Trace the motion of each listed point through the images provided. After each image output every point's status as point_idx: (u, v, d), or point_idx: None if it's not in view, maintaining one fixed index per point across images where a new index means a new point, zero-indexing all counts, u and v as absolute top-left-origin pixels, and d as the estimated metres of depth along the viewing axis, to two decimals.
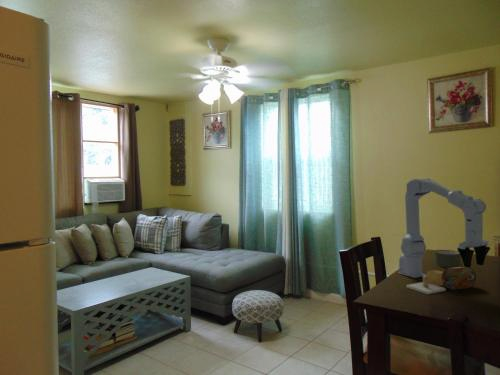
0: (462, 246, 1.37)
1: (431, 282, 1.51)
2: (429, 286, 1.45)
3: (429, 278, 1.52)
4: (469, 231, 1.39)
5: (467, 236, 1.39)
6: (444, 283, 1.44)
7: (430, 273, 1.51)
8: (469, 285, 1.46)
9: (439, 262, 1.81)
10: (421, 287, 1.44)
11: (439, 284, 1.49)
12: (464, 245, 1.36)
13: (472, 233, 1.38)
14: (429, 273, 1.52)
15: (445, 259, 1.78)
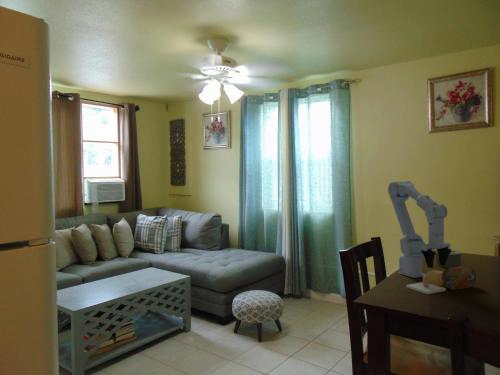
0: (424, 248, 1.48)
1: (431, 282, 1.51)
2: (429, 286, 1.45)
3: (429, 278, 1.52)
4: (431, 234, 1.50)
5: (430, 239, 1.51)
6: (444, 283, 1.44)
7: (430, 273, 1.51)
8: (469, 285, 1.46)
9: None
10: (421, 287, 1.44)
11: (439, 284, 1.49)
12: (426, 247, 1.48)
13: (434, 236, 1.49)
14: (429, 273, 1.52)
15: None
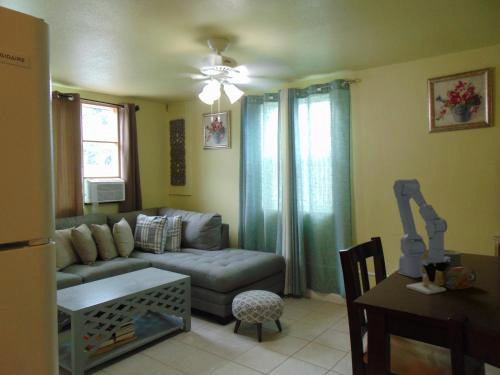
0: (424, 262, 1.48)
1: (431, 282, 1.51)
2: (429, 286, 1.45)
3: None
4: (431, 248, 1.50)
5: (430, 253, 1.51)
6: (444, 283, 1.44)
7: None
8: (469, 285, 1.46)
9: None
10: (421, 287, 1.44)
11: (439, 284, 1.49)
12: (426, 262, 1.48)
13: (434, 250, 1.49)
14: None
15: None
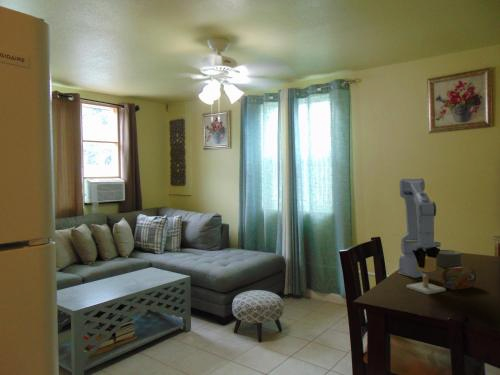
0: (414, 247, 1.41)
1: (421, 268, 1.44)
2: (429, 286, 1.45)
3: None
4: (421, 233, 1.43)
5: (419, 238, 1.44)
6: (444, 283, 1.44)
7: None
8: (469, 285, 1.46)
9: (439, 262, 1.81)
10: (421, 287, 1.44)
11: (429, 270, 1.42)
12: (415, 246, 1.41)
13: (424, 235, 1.42)
14: None
15: (445, 259, 1.78)
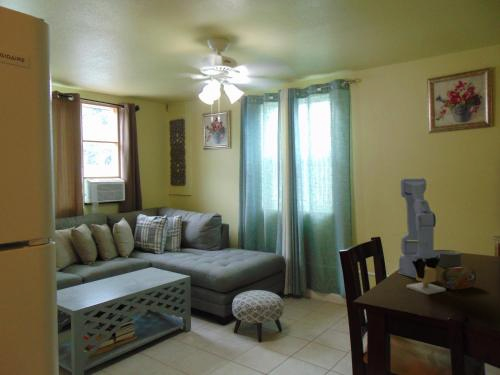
0: (413, 258, 1.41)
1: (420, 279, 1.44)
2: (429, 286, 1.45)
3: None
4: (420, 243, 1.43)
5: (419, 248, 1.44)
6: (444, 283, 1.44)
7: None
8: (469, 285, 1.46)
9: (439, 262, 1.81)
10: (421, 287, 1.44)
11: (429, 281, 1.42)
12: (415, 257, 1.41)
13: (423, 245, 1.42)
14: None
15: (445, 259, 1.78)
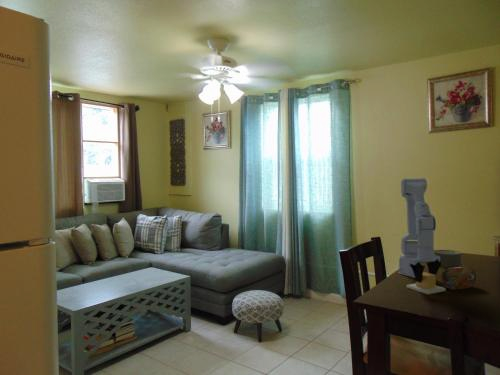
0: (413, 262, 1.41)
1: (420, 285, 1.44)
2: None
3: None
4: (420, 247, 1.43)
5: (419, 252, 1.44)
6: (444, 283, 1.44)
7: None
8: (469, 285, 1.46)
9: None
10: None
11: (428, 287, 1.42)
12: (415, 261, 1.41)
13: (423, 249, 1.42)
14: None
15: (445, 259, 1.78)
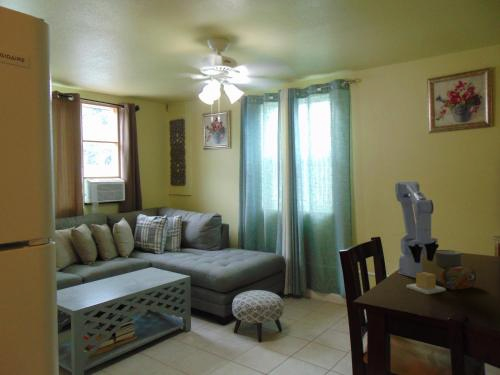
0: (412, 243, 1.48)
1: (420, 285, 1.44)
2: None
3: (418, 281, 1.45)
4: (419, 229, 1.50)
5: (417, 234, 1.50)
6: (444, 283, 1.44)
7: (419, 275, 1.44)
8: (469, 285, 1.46)
9: (439, 262, 1.81)
10: None
11: (428, 287, 1.42)
12: (413, 242, 1.47)
13: (421, 231, 1.49)
14: (418, 275, 1.45)
15: (445, 259, 1.78)
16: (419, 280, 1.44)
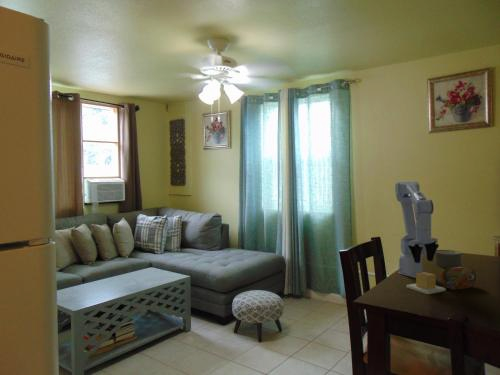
0: (412, 243, 1.48)
1: (420, 285, 1.44)
2: None
3: (418, 281, 1.45)
4: (419, 229, 1.50)
5: (417, 234, 1.50)
6: (444, 283, 1.44)
7: (419, 275, 1.44)
8: (469, 285, 1.46)
9: (439, 262, 1.81)
10: None
11: (428, 287, 1.42)
12: (413, 242, 1.47)
13: (421, 231, 1.49)
14: (418, 275, 1.45)
15: (445, 259, 1.78)
16: (419, 280, 1.44)
